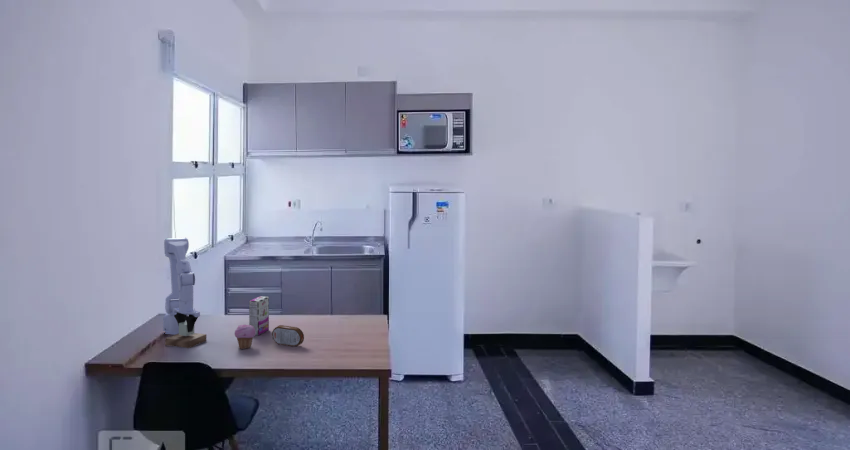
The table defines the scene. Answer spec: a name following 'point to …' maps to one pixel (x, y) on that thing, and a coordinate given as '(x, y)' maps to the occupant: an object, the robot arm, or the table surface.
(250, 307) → the candy bar box
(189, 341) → the brown flat block
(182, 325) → the sage block
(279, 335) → the tin
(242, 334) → the cupcake
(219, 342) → the table surface
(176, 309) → the robot arm
